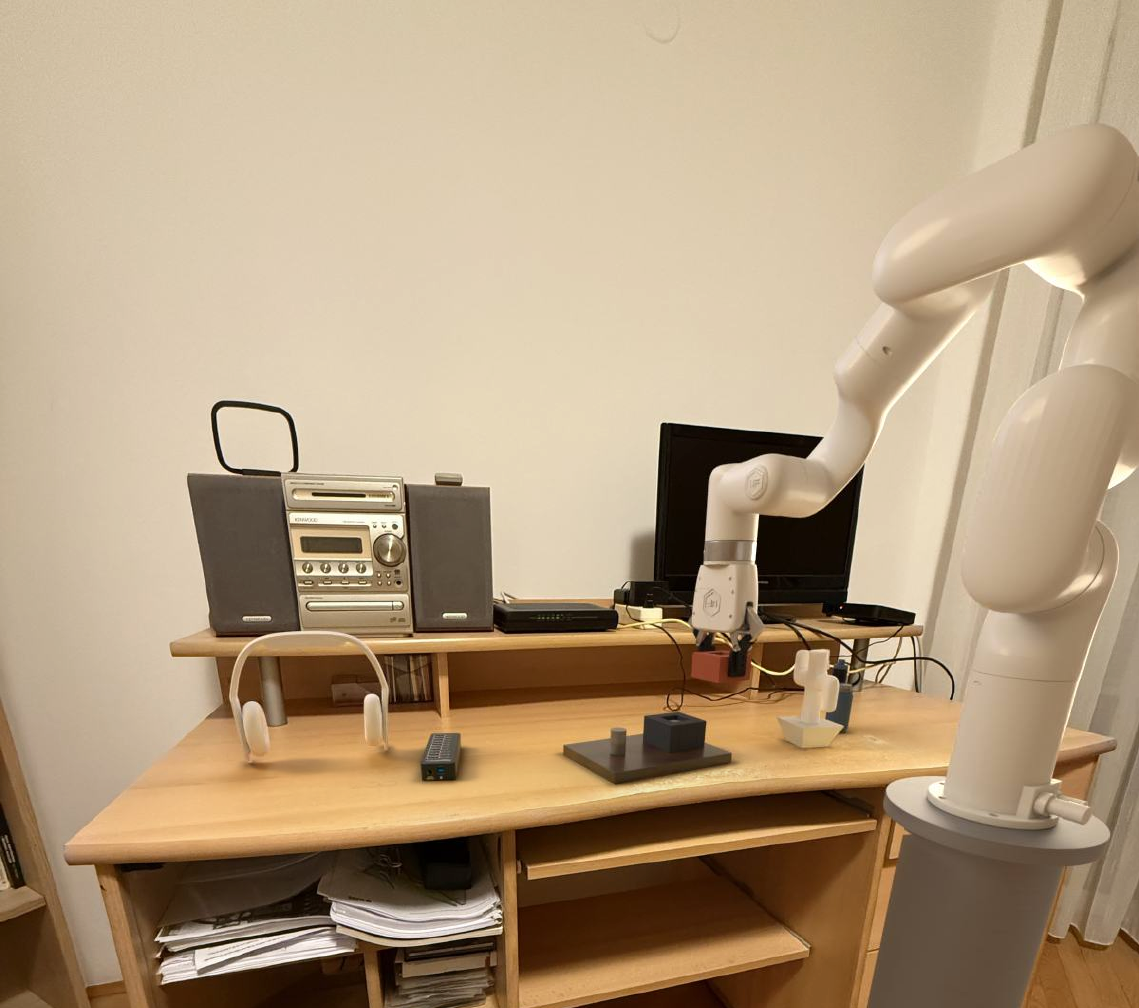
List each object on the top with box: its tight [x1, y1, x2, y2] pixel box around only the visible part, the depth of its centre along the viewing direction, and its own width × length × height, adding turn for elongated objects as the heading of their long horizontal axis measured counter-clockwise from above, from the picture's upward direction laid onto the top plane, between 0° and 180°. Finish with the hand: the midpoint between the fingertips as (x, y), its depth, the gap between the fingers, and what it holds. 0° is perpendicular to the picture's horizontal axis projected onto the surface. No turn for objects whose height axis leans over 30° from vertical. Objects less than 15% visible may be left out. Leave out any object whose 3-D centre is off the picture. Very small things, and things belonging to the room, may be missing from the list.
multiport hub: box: [420, 732, 462, 782], centre depth 84 cm, size 4×14×2 cm, turn 7°
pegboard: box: [562, 720, 733, 785], centre depth 87 cm, size 14×20×5 cm
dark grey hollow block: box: [642, 711, 707, 753], centre depth 89 cm, size 6×6×4 cm
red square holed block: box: [690, 649, 753, 684], centre depth 96 cm, size 6×6×4 cm
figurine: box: [776, 648, 844, 749], centre depth 94 cm, size 7×9×15 cm
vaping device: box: [824, 658, 854, 734], centre depth 103 cm, size 3×5×12 cm, turn 4°
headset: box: [228, 630, 390, 764], centre depth 82 cm, size 20×7×18 cm, turn 110°
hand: (720, 672), depth 96 cm, fingers closed on red square holed block, 6 cm apart
